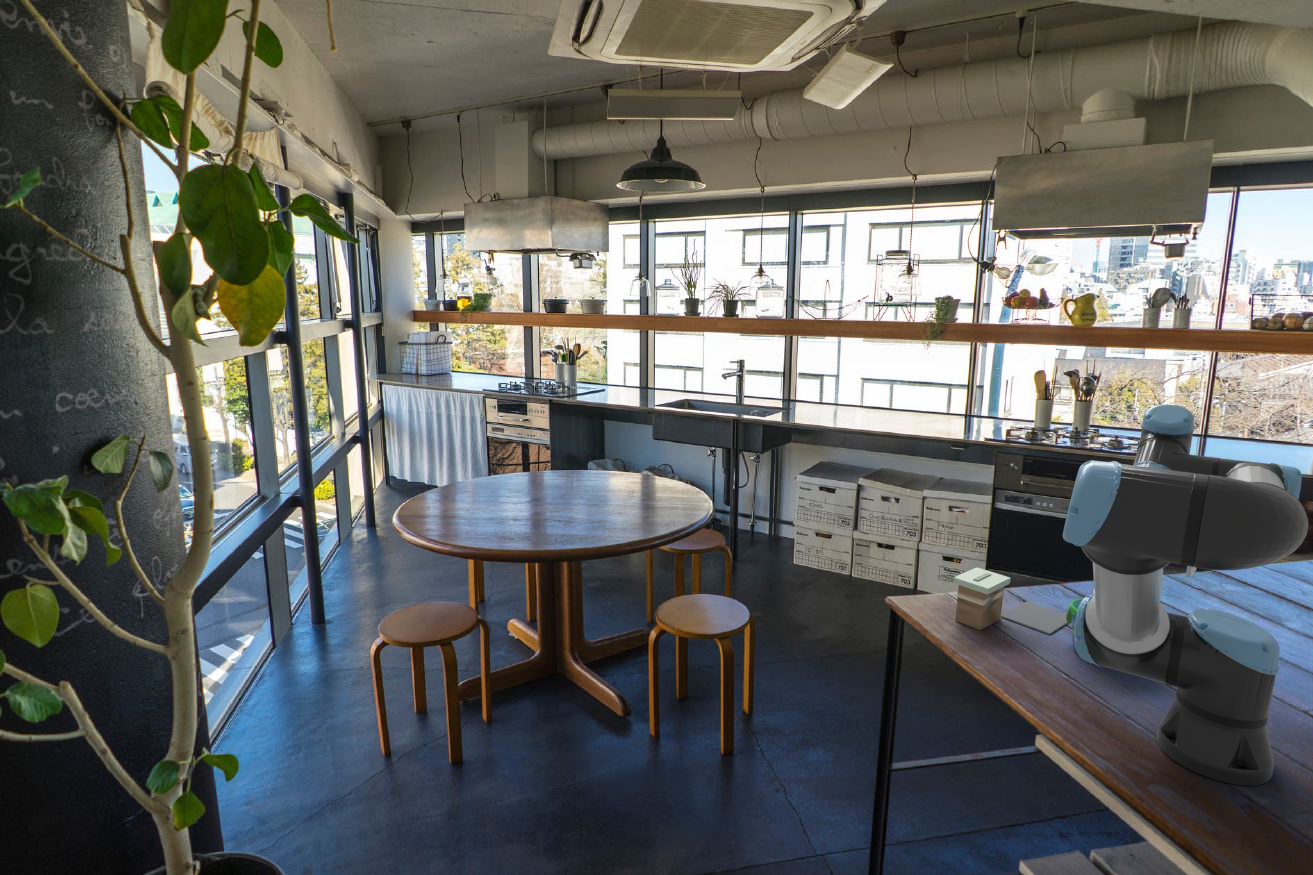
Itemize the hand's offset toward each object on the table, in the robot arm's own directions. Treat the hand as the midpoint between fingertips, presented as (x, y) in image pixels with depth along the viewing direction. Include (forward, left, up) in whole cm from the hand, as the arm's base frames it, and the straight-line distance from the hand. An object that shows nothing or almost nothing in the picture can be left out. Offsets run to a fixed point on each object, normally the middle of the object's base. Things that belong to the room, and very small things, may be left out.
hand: (1152, 559), depth 146 cm
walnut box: (-11, +29, -21) cm, 37 cm away
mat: (+1, +21, -21) cm, 30 cm away
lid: (-11, +29, -12) cm, 33 cm away
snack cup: (-7, +6, -21) cm, 23 cm away
